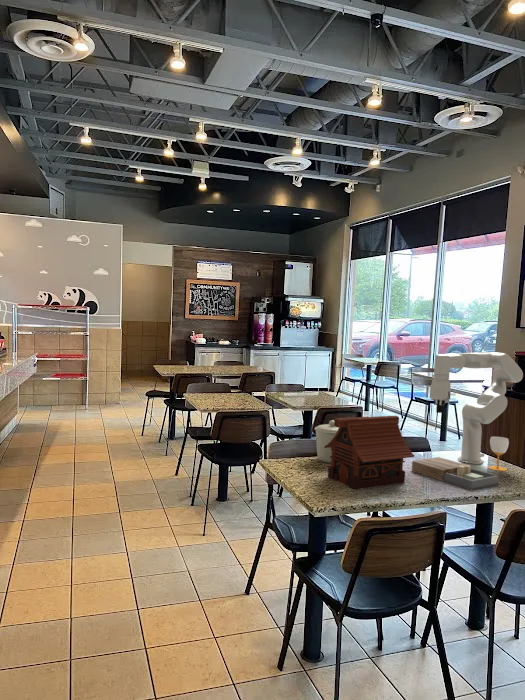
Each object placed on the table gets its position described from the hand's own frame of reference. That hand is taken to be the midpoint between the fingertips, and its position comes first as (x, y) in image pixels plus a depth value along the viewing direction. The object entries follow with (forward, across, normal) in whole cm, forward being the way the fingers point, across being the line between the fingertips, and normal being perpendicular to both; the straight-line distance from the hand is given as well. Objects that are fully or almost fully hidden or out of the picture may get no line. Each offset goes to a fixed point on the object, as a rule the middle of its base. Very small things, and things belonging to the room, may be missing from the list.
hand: (439, 412), depth 273 cm
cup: (+27, +21, +22) cm, 41 cm away
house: (+27, +7, -59) cm, 65 cm away
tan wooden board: (+27, +14, -15) cm, 34 cm away
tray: (+27, +31, -15) cm, 44 cm away
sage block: (+23, +32, -15) cm, 42 cm away
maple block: (+23, +25, -15) cm, 38 cm away
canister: (+27, -27, -50) cm, 63 cm away
